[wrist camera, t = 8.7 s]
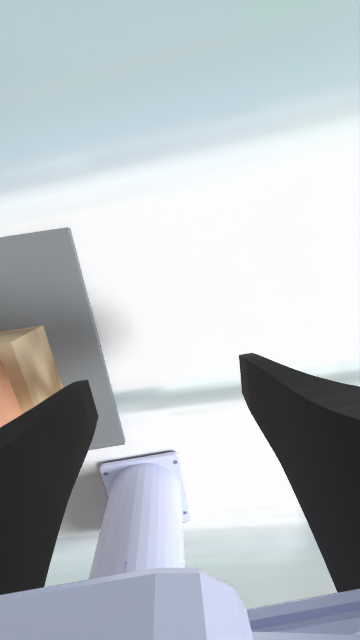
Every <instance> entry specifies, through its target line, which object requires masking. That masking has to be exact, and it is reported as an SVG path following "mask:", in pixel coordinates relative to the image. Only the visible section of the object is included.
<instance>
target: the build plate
mask: <svg viewBox="0 0 360 640" xmlns="http://www.w3.org/2000/svg"><path fill="white" fill-rule="evenodd" d="M40 325H43V326H44V329H45V333H46V336H47V339H48V342H49V345H50V348H51V351H52V354H53V357H54V360H55V363H56V366H57V370H58V373H59V376H60V379H61V382H62V385H63V388H64V387H66V386H67V385H69V384H71V383H73V382H75V381H81V380H87V379H88V381H89V385H90V388H91V392H92V395H93V399H94V402H95V406H96V409H97V413H98V421H97V425H96V429H95V433H94V436H93V439H92V442H91V444H90V447H89V449H88V450H93V449H99V448H105V447H111V446H118V445H124V444H125V438H124V434H123V430H122V427H121V423H120V419H119V415H118V411H117V407H116V403H115V400H114V396H113V392H112V388H111V384H110V380H109V376H108V373H107V369H106V365H105V361H104V357H103V353H102V349H101V346H100V342H99V338H98V334H97V330H96V326H95V322H94V319H93V315H92V311H91V307H90V303H89V299H88V295H87V292H86V288H85V284H84V280H83V276H82V272H81V269H80V265H79V261H78V257H77V253H76V249H75V245H74V242H73V238H72V234H71V230H70V228H61V229H55V230H48V231H41V232H35V233H28V234H21V235H14V236H8V237H1V238H0V332H2V331H8V330H14V329H21V328H27V327H34V326H40Z"/></svg>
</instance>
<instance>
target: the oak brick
mask: <svg viewBox="0 0 360 640" xmlns="http://www.w3.org/2000/svg"><path fill="white" fill-rule="evenodd" d="M0 358H1V361H2V363H3V366H4V368H5V371H6V373H7V376H8V378H9V381H10V383H11V386H12V388H13V391H14V393H15V396H16V398H17V401H18V403H19V406H20V408H21V411H22V413H25V412H27V411H28V410H30V409H31V408H33V407H35V406H36V405H38V404H39V403H41V402H42V401H44V400H45V399H47V398H48V397H50V396H51V395H53V394H54V393H56V392H58V391H59V390H61V389H62V388H63V385H62V382H61V379H60V376H59V373H58V370H57V366H56V363H55V360H54V357H53V354H52V351H51V348H50V345H49V342H48V339H47V336H46V333H45V329H44V326H43V325H40V326H34V327H27V328H21V329H14V330H8V331H2V332H0Z"/></svg>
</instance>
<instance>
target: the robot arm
mask: <svg viewBox="0 0 360 640" xmlns="http://www.w3.org/2000/svg"><path fill="white" fill-rule="evenodd" d="M239 361H240V372H241V384H242V393H243V396H244V398H245V401H246V403H247V405H248V408H249V410H250V412H251V414H252V415H253V417H254V419H255V421H256V422H257V424H258V426H259V427H260V429H261V431H262V432H263V434H264V436H265V437H266V439H267V441H268V442H269V444H270V446H271V447H272V449H273V451H274V452H275V454H276V456H277V458H278V460H279V461H280V463H281V465H282V467H283V469H284V472H285V474H286V476H287V478H288V480H289V482H290V484H291V486H292V488H293V491H294V493H295V495H296V497H297V499H298V502H299V504H300V506H301V508H302V510H303V513H304V515H305V517H306V519H307V521H308V524H309V526H310V528H311V531H312V533H313V535H314V538H315V540H316V542H317V545H318V547H319V549H320V551H321V554H322V556H323V558H324V561H325V563H326V566H327V568H328V570H329V573H330V575H331V578H332V580H333V582H334V585H335V587H336V590H337V592H338V593H334V594H328V595H322V596H317V597H311V598H306V599H300V600H295V601H289V602H284V603H278V604H273V605H267V606H261V607H256V608H250V609H246V608H245V607H244V605H243V603H242V602H241V600H240V598H239V597H238V595H237V593H236V591H235V590H234V588H233V587H232V586H231V585H230V584H228V583H227V582H226V581H225V580H223V579H220V578H218V577H216V576H214V575H211V574H209V573H207V572H204V571H202V570H200V569H198V568H185V559H184V542H183V525H182V523H185V522H188V521H189V520H190V513H189V508H188V503H187V497H186V492H185V486H184V481H183V476H182V470H181V465H180V459H179V454H178V453H177V452H169V453H163V454H157V455H151V456H145V457H139V458H133V459H127V460H121V461H115V462H109V463H104V464H102V465H101V467H100V473H101V476H102V479H103V482H104V486H105V489H106V492H107V495H108V501H107V505H106V509H105V514H104V518H103V522H102V526H101V530H100V534H99V538H98V542H97V546H96V551H95V555H94V559H93V563H92V567H91V571H90V575H89V579H88V580H83V581H78V582H72V583H66V584H61V585H55V586H49V587H44V585H45V581H46V577H47V573H48V569H49V565H50V561H51V558H52V554H53V551H54V547H55V543H56V540H57V536H58V533H59V529H60V526H61V522H62V519H63V516H64V513H65V509H66V506H67V503H68V500H69V497H70V494H71V491H72V489H73V486H74V484H75V481H76V479H77V476H78V474H79V471H80V469H81V467H82V464H83V462H84V459H85V457H86V454H87V452H88V449H89V447H90V444H91V442H92V439H93V436H94V433H95V429H96V425H97V421H98V413H97V409H96V406H95V402H94V399H93V395H92V392H91V388H90V385H89V381H88V379H87V380H81V381H75V382H73V383H71V384H69V385H67V386H66V387H64V388H62V389H61V390H59V391H58V392H56V393H54V394H53V395H51V396H50V397H48V398H47V399H45V400H44V401H42V402H41V403H39V404H38V405H36V406H35V407H33V408H31V409H30V410H28V411H27V412H25V413H23V414H22V415H20V416H18V417H17V418H15V419H14V420H12V421H10V422H9V423H7V424H5V425H3V426H2V427H0V640H360V387H358V386H353V385H348V384H343V383H339V382H335V381H331V380H327V379H323V378H319V377H316V376H313V375H309V374H306V373H303V372H300V371H297V370H295V369H292V368H289V367H287V366H284V365H282V364H279V363H277V362H274V361H272V360H269V359H267V358H264V357H262V356H259V355H257V354H254V353H249V354H243V355H239ZM174 460H176V461H174ZM106 472H107V473H106Z"/></svg>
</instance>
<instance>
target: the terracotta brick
mask: <svg viewBox="0 0 360 640" xmlns="http://www.w3.org/2000/svg"><path fill="white" fill-rule="evenodd" d="M22 414H23V413H22V411H21V408H20V406H19V403H18V401H17V398H16V396H15V393H14V391H13V388H12V386H11V383H10V381H9V378H8V376H7V373H6V371H5V368H4V366H3V363H2V361H1V358H0V427H2V426H3V425H5V424H7V423H9V422H10V421H12V420H14V419H15V418H17V417H18V416H20V415H22Z"/></svg>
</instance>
